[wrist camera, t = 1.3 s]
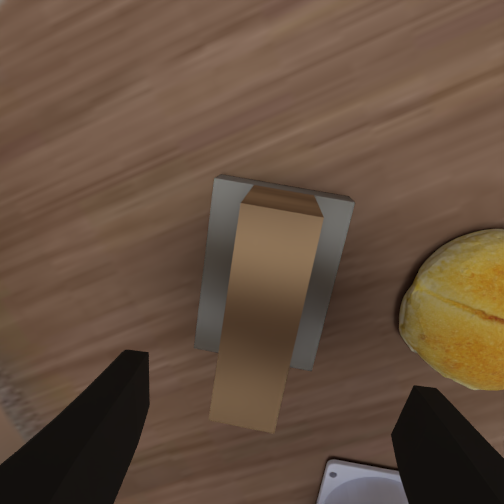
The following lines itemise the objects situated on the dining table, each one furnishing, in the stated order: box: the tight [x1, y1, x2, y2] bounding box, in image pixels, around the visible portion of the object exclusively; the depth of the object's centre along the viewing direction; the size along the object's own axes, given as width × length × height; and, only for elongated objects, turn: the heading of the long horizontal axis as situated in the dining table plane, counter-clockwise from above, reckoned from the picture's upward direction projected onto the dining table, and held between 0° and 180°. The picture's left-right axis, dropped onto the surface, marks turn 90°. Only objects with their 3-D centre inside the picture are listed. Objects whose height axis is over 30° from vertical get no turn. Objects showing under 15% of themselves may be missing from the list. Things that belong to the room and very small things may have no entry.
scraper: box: [194, 174, 355, 434], centre depth 17 cm, size 10×7×7 cm
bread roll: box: [399, 229, 504, 390], centre depth 18 cm, size 8×9×4 cm
